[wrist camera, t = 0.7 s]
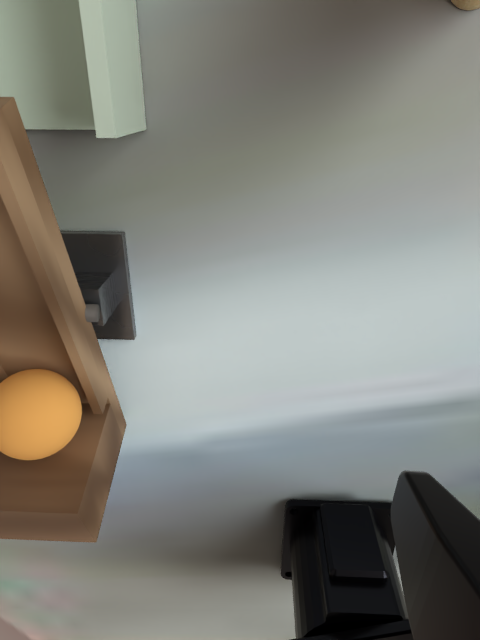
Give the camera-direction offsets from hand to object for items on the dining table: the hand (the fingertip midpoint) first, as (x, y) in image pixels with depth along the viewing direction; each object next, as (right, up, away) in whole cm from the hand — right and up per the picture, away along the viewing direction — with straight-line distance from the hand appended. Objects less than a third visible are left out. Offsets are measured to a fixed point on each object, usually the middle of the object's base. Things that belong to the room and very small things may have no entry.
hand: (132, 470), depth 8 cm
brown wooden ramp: (-6, +3, +10) cm, 12 cm away
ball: (-7, -1, +10) cm, 12 cm away
